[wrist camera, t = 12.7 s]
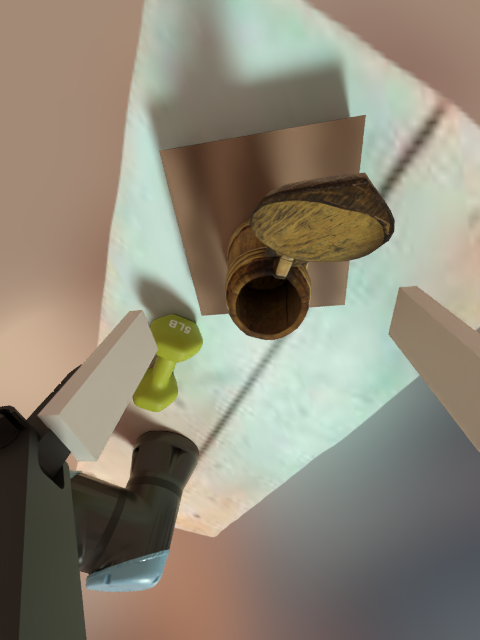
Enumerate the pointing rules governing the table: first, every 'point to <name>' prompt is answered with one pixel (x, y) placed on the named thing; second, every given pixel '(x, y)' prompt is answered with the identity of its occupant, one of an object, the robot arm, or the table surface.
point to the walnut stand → (254, 196)
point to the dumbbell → (167, 361)
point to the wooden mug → (299, 248)
